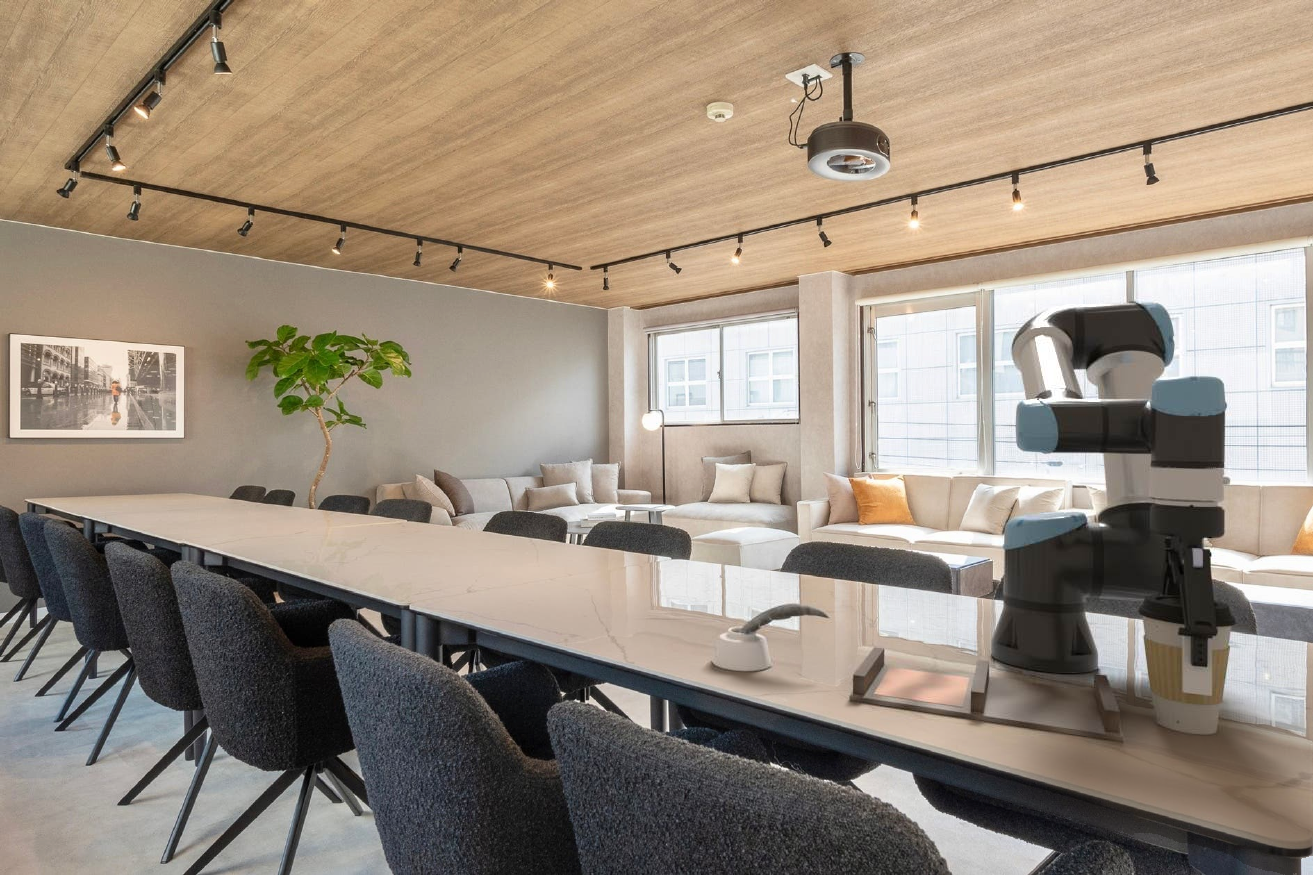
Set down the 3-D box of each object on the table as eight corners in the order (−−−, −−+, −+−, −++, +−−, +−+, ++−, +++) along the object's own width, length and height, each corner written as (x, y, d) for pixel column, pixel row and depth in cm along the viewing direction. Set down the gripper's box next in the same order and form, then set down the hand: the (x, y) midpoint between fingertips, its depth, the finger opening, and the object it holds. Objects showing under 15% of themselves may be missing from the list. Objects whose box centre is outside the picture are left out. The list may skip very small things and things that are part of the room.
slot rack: (849, 699, 101) (849, 676, 101) (873, 665, 118) (873, 645, 118) (1123, 741, 88) (1123, 714, 88) (1107, 696, 104) (1107, 673, 104)
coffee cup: (1240, 724, 94) (1241, 601, 94) (1229, 747, 87) (1230, 614, 87) (1147, 705, 101) (1147, 590, 101) (1129, 724, 94) (1130, 601, 94)
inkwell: (721, 652, 124) (722, 590, 124) (834, 665, 118) (835, 600, 118) (703, 667, 116) (704, 600, 116) (824, 682, 109) (825, 611, 109)
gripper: (1251, 512, 81) (1250, 713, 81) (1202, 498, 104) (1201, 656, 104) (1167, 508, 85) (1166, 702, 84) (1137, 496, 107) (1136, 649, 107)
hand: (1185, 677), depth 94 cm, fingers open, 13 cm apart
